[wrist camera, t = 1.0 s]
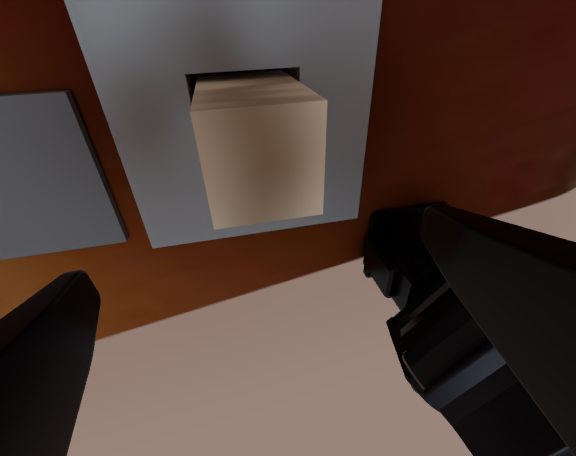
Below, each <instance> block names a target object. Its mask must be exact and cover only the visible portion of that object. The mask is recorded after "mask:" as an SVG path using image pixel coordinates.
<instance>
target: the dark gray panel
mask: <svg viewBox="0 0 576 456" xmlns="http://www.w3.org/2000/svg"><path fill="white" fill-rule="evenodd" d="M128 237H129V236H128V233H127V231H126V228H125V226H124V223H123V221H122V218H121V216H120V213H119V211H118V208H117V206H116V203H115V201H114V198H113V196H112V193H111V191H110V188H109V186H108V183H107V181H106V178H105V176H104V173H103V171H102V168H101V166H100V163H99V161H98V159H97V156H96V154H95V151H94V149H93V146H92V144H91V141H90V139H89V136H88V134H87V131H86V129H85V126H84V124H83V121H82V119H81V116H80V114H79V111H78V109H77V106H76V104H75V101H74V99H73V96H72V94H71V91H70V90H57V91H42V92H28V93H13V94H0V260H3V259H10V258H17V257H24V256H31V255H38V254H45V253H52V252H59V251H66V250H73V249H80V248H87V247H94V246H101V245H108V244H115V243H122V242H127V240H128Z"/></svg>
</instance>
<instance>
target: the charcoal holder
mask: <svg viewBox="0 0 576 456" xmlns="http://www.w3.org/2000/svg"><path fill="white" fill-rule="evenodd" d="M64 2H65V5H66V7H67V10H68V13H69V16H70V19H71V21H72V24H73V27H74V30H75V33H76V35H77V38H78V41H79V44H80V47H81V49H82V52H83V55H84V58H85V61H86V63H87V66H88V69H89V72H90V75H91V77H92V80H93V83H94V86H95V89H96V91H97V94H98V97H99V100H100V103H101V105H102V108H103V111H104V114H105V117H106V119H107V122H108V125H109V128H110V131H111V133H112V136H113V139H114V142H115V145H116V147H117V150H118V153H119V156H120V159H121V161H122V164H123V167H124V170H125V173H126V175H127V178H128V181H129V184H130V187H131V189H132V192H133V195H134V198H135V200H136V203H137V206H138V209H139V212H140V214H141V217H142V220H143V223H144V226H145V228H146V231H147V234H148V237H149V240H150V242H151V245H152V248H159V247H166V246H173V245H179V244H186V243H193V242H200V241H206V240H213V239H220V238H227V237H233V236H240V235H247V234H254V233H260V232H267V231H274V230H281V229H287V228H294V227H301V226H308V225H314V224H321V223H328V222H335V221H341V220H348V219H355V218H358V210H359V201H360V192H361V183H362V175H363V166H364V157H365V148H366V140H367V131H368V122H369V113H370V105H371V96H372V87H373V78H374V69H375V61H376V52H377V43H378V34H379V26H380V17H381V8H382V0H64ZM275 68H289V75H290V76H291V77H293V78H294V79H296V80H297V81H299V82H300V83H302V84H303V85H305V86H307V87H308V88H310V89H311V90H313V91H314V92H316V93H317V94H319V95H320V96H322V97H323V98H325V99H326V100H327V126H326V151H325V177H324V202H323V214H322V215H314V216H307V217H300V218H293V219H286V220H279V221H272V222H265V223H258V224H251V225H244V226H237V227H230V228H223V229H216V230H214V227H213V223H212V218H211V213H210V208H209V203H208V198H207V193H206V188H205V183H204V179H203V174H202V169H201V164H200V159H199V154H198V149H197V144H196V139H195V135H194V130H193V125H192V120H191V115H190V108H191V104H192V99H193V90H192V85H191V80H190V75H189V74H197V73H212V72H228V71H244V70H259V69H275Z"/></svg>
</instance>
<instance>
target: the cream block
mask: <svg viewBox="0 0 576 456" xmlns="http://www.w3.org/2000/svg"><path fill="white" fill-rule="evenodd" d="M190 115H191V120H192V125H193V130H194V135H195V139H196V144H197V149H198V154H199V159H200V164H201V169H202V174H203V179H204V183H205V188H206V193H207V198H208V203H209V208H210V213H211V218H212V223H213V227H214V230H216V229H223V228H230V227H237V226H244V225H251V224H258V223H265V222H272V221H279V220H286V219H293V218H300V217H307V216H314V215H322V214H323V202H324V177H325V151H326V126H327V100H326V99H325V98H323V97H322V96H320V95H319V94H317V93H316V92H314V91H313V90H311V89H310V88H308V87H307V86H305V85H303V84H302V83H300V82H299V81H297V80H296V79H294V78H293V77H291V76H290V75H288V74H287V73H285V72H284V71H282V70H277V71H261V72H245V73H230V74H214V75H199V76H197V81H196V85H195V90H194V95H193V99H192V104H191V108H190Z"/></svg>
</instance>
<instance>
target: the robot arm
mask: <svg viewBox="0 0 576 456" xmlns="http://www.w3.org/2000/svg"><path fill="white" fill-rule="evenodd" d="M378 217H380V218H379V219H377V218H378ZM363 263H364V271H363V272H364V274H365V276H366V277H368V278H369V277H372V278H373V279H374V281H375V282H376V284H377V285H378V287H379V288H380V290H381V292H382V293H383V295H384V296H385V297H387V298H391V297H392V299H393V300H394V302H395V303H396V305H397V306H398V308H399V309H400V312H398V313H397V314H396V315H395V316H394V317H391V318H390V319H389V320H387V322H386V323H387V326H388V329H389V332H390V336H391V338H392V341H393V344H394V347H395V350H396V352H397V355H398V358H399V361H400V363H401V367H402V369H403V372H404V374H405V378H406V379H407V381H408V382H409V383H410V384H411V387H412V388H413V390H414V391H415V392H416V393H418V394H419V395H420V396H421V397H422V398H423V399H424V400H425V401H426V402H427V403H428V404H429V405H430V406H431V407H433V408H434V409H436V410H437V411H439V412H441V414H442V415H443V416H444V417H445V418H446V419H447V421H448V422H449V423H450V424H451V425H452V427H453V428H454V430H455V431H456V432H457V434H458V435H459V436H460V438H461V439H462V441H463V442H464V443H465V445H466V446H467V448H468V449H469V451H470V452H471V453H472V455H473V456H576V242H573V241H569V240H566V239H562V238H558V237H555V236H552V235H548V234H545V233H542V232H538V231H535V230H531V229H528V228H524V227H521V226H517V225H514V224H510V223H507V222H503V221H500V220H496V219H493V218H490V217H486V216H483V215H479V214H476V213H472V212H469V211H465V210H462V209H458V208H455V207H451V206H450V205H448V204H447V203H446V202H438V203H431V204H424V205H418V206H411V207H404V208H397V209H390V210H383V211H377V212H375V213H374V214H373V215H372V217H371V222H370V229H369V236H368V238H367V240H366V245H365V252H364V260H363ZM100 303H101V299H100V295H99V292H98V291H97V289H96V287H95V286H94V284H93V282H92V281H91V279H90V278H89V276H88V274H87V273H86V272H85V271H82V270H78V271H73V272H67V273H64V274H62V275H60V276H59V277H58V278H56V279H55V280H54V281H52V282H51V283H49V284H48V285H47V286H45V287H44V288H43V289H41V290H40V291H38V292H37V293H36V294H34V295H33V296H32V297H30V298H29V299H27V300H26V301H25V302H23V303H22V304H21V305H19V306H18V307H16V308H15V309H14V310H12V311H11V312H10V313H8V314H7V315H5V316H4V317H3V318H1V319H0V456H67V452H68V448H69V444H70V441H71V437H72V434H73V430H74V426H75V422H76V419H77V415H78V411H79V408H80V404H81V400H82V396H83V393H84V389H85V385H86V381H87V378H88V374H89V370H90V366H91V361H92V357H93V351H94V345H95V338H96V331H97V324H98V317H99V310H100Z"/></svg>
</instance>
